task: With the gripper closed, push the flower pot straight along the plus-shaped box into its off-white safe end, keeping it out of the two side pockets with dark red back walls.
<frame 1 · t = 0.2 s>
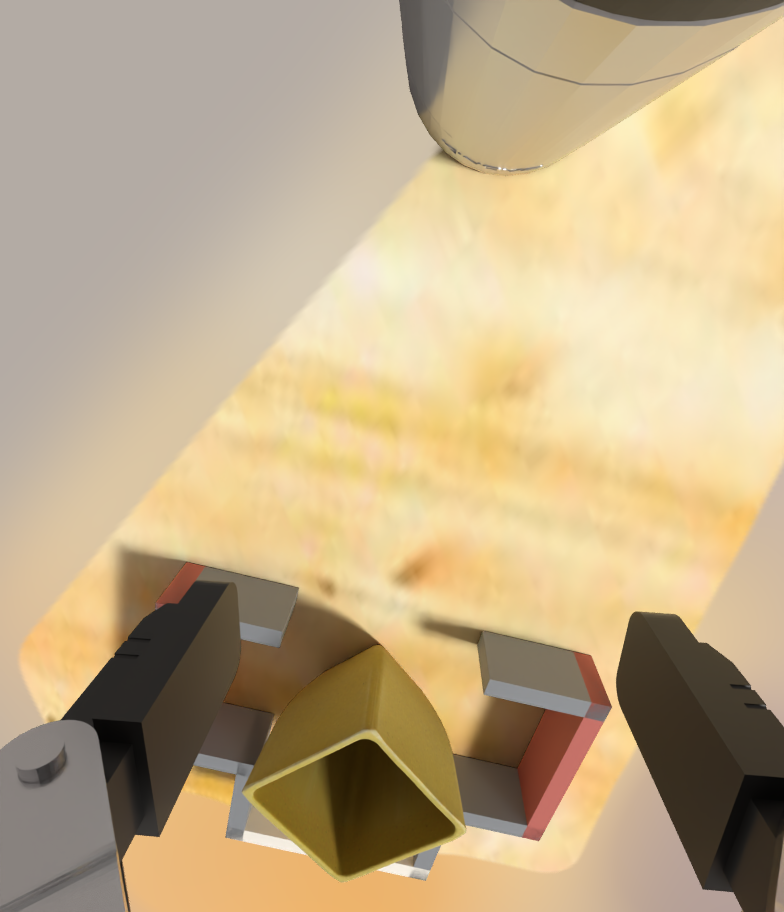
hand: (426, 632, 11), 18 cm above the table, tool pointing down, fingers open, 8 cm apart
flower pot: (370, 678, 35), on the table
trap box: (370, 681, 35), on the table
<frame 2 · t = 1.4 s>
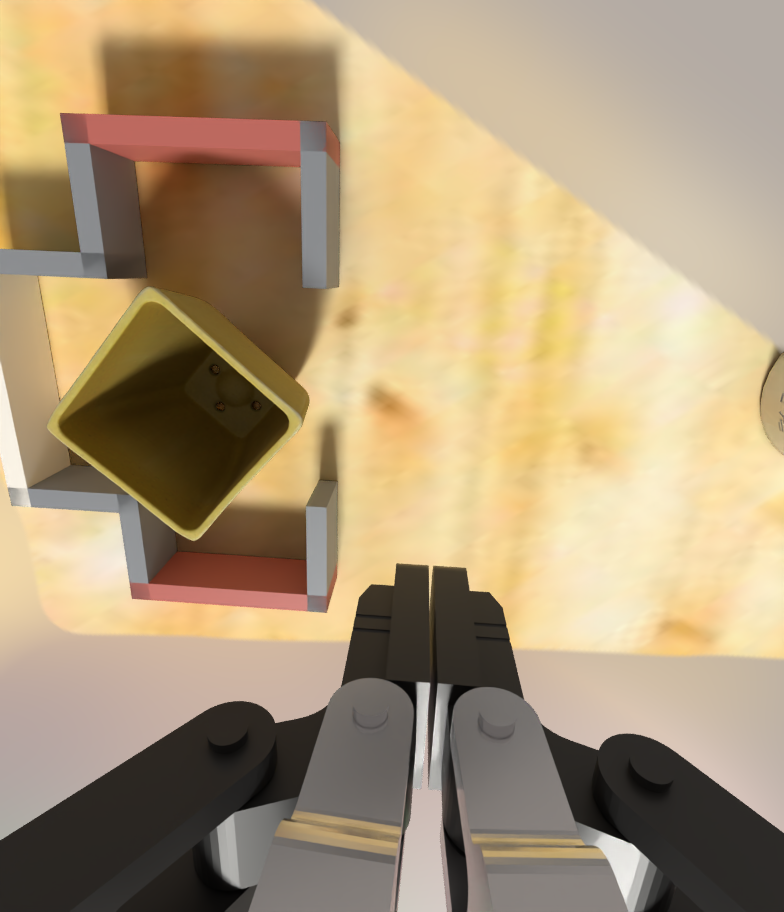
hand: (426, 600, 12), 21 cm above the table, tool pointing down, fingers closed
flower pot: (239, 384, 32), on the table
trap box: (238, 384, 32), on the table
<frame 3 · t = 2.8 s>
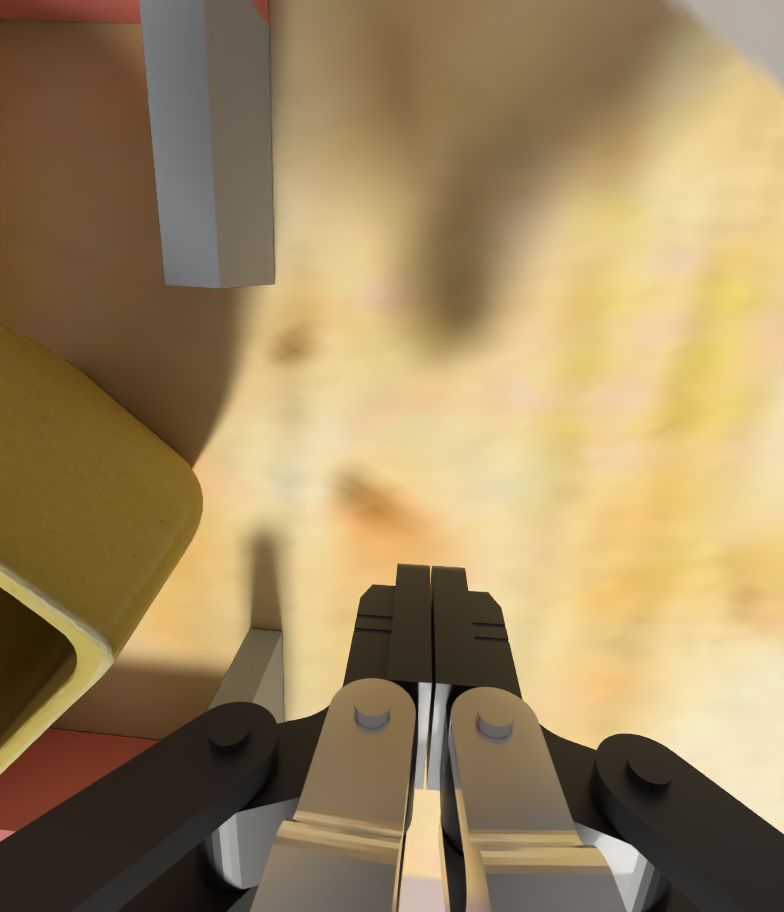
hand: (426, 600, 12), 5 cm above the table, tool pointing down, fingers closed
flower pot: (99, 461, 17), on the table
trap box: (94, 464, 17), on the table
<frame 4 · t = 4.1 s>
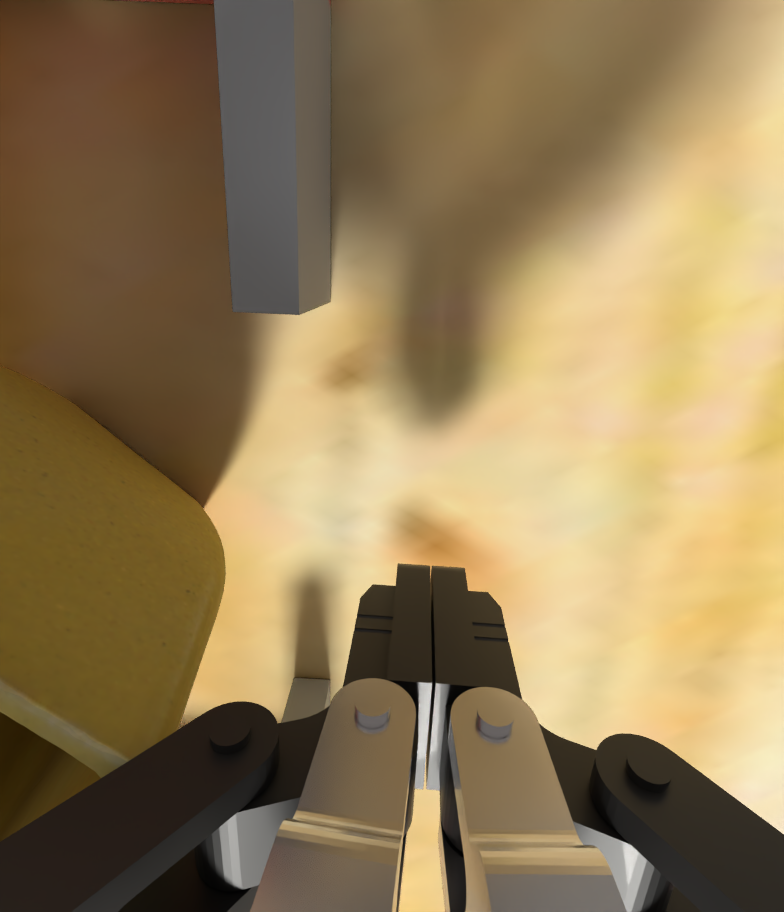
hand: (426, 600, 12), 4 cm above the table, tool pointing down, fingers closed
flower pot: (95, 502, 15), on the table, touching hand
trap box: (119, 505, 15), on the table
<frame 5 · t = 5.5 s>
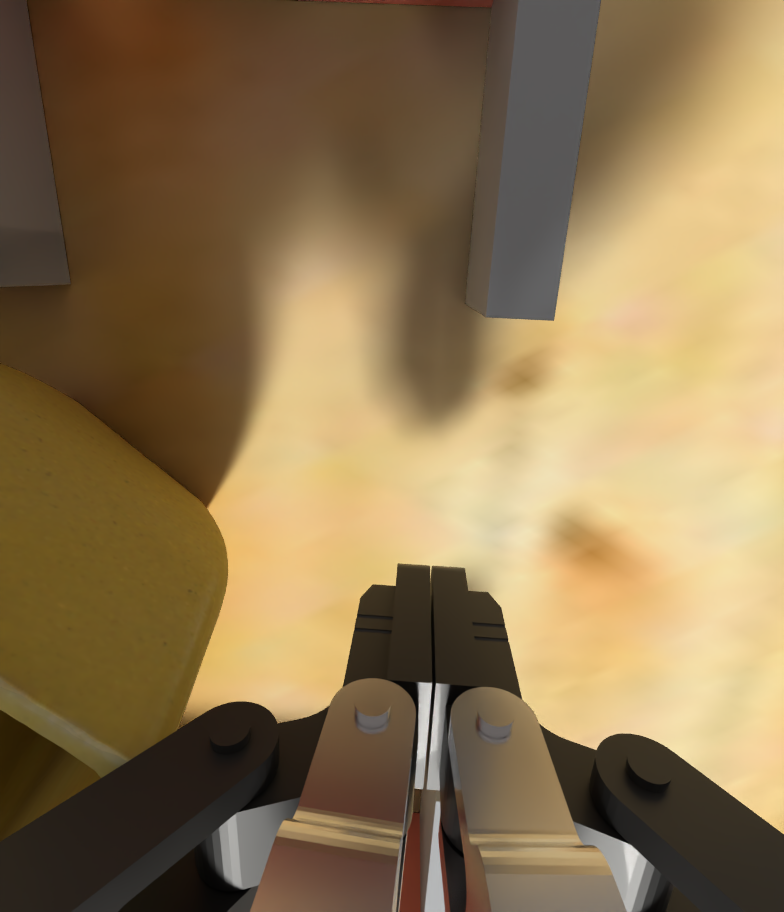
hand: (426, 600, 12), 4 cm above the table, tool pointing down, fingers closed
flower pot: (100, 502, 16), on the table, touching hand
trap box: (273, 509, 15), on the table
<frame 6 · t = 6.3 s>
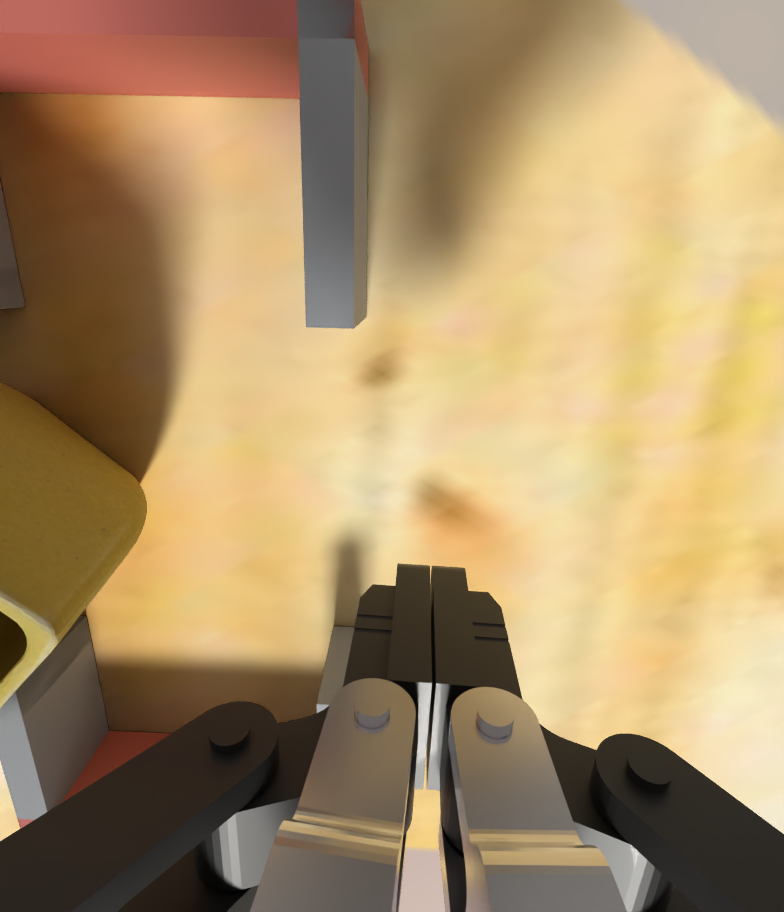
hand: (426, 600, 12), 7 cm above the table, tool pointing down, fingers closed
flower pot: (55, 480, 19), on the table
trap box: (194, 482, 19), on the table
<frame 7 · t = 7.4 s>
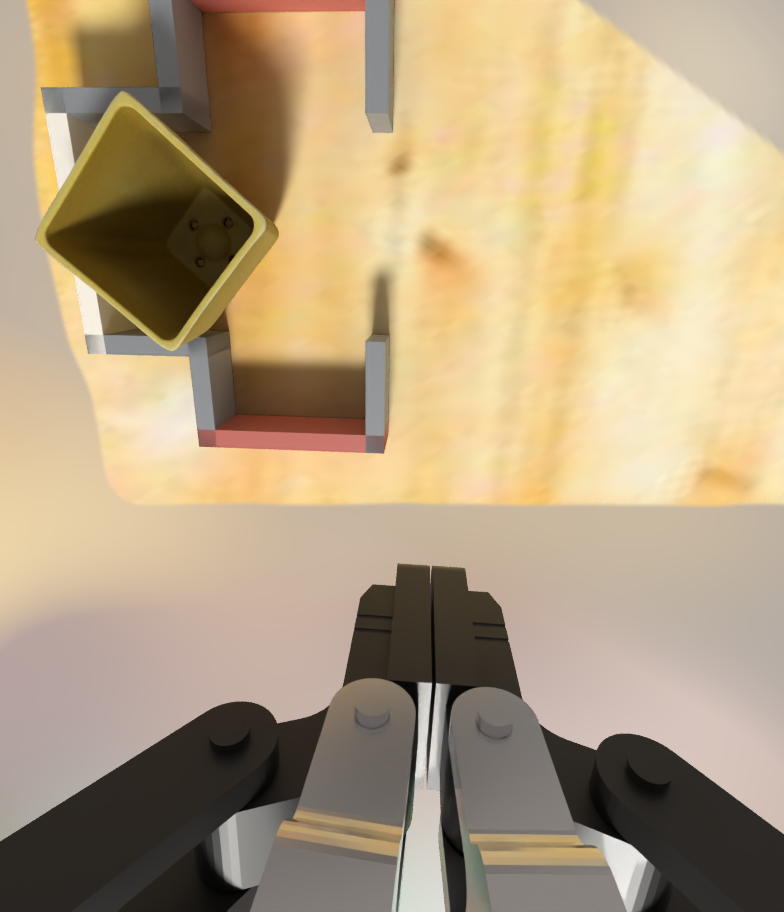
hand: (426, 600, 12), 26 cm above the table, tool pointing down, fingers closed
flower pot: (217, 240, 34), on the table
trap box: (296, 238, 34), on the table
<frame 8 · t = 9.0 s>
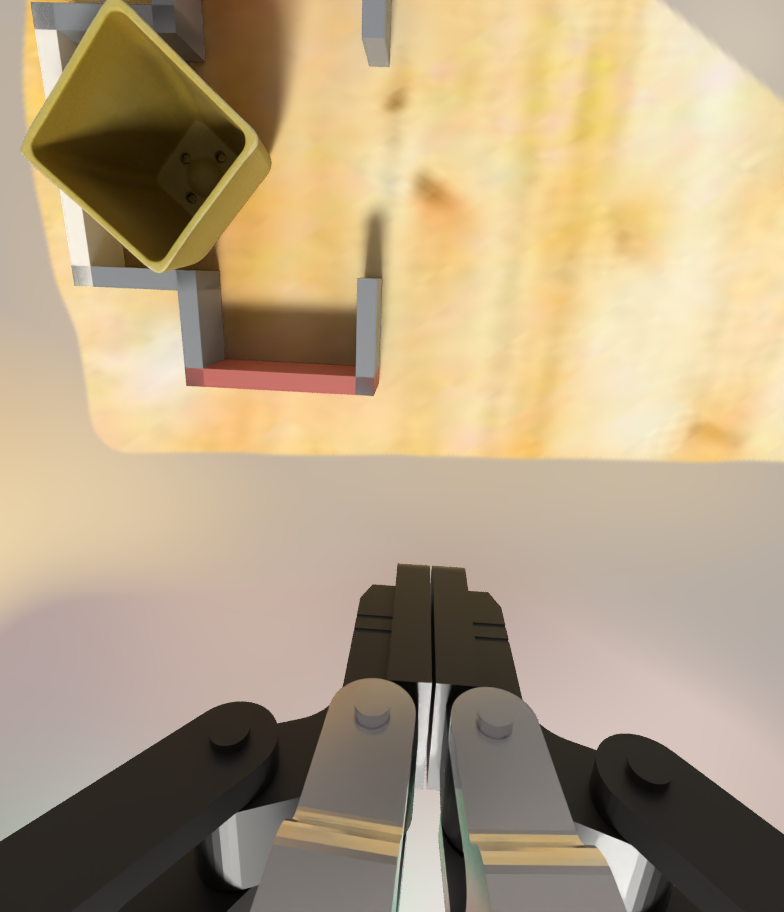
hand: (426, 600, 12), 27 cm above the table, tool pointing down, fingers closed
flower pot: (209, 176, 34), on the table
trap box: (289, 175, 33), on the table
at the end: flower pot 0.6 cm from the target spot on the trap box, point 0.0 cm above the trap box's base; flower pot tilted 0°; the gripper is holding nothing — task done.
